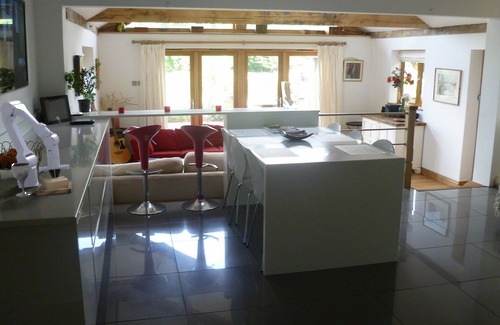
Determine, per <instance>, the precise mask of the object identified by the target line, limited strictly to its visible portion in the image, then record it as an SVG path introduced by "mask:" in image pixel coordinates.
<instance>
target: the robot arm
mask: <svg viewBox="0 0 500 325" xmlns="http://www.w3.org/2000/svg"><path fill="white" fill-rule="evenodd" d="M0 112H1V121H2V124H3V126H4V128H5V130H6V132H7V134H8V137H9V138H10V140H11V143H12V145H13V147H14V149H15V150H16V152H17V153H16V156H15V159H16V162H17V163H29V165H30V173H29V176H28V177H27V179H26V180H25V182H24V189H25V188H33V187H38V185H39V184H40V183H39V180H38V173H40V172H49V174H50V176H51V178H57V177H60V174H61V170H70V164H61V162H60V161H61V160H60V150H59V143H60V137H59V135H58V134H57V133H54V132H53V131H51V130H50V129H49V128H48V127H47V124H45V123H43V122H39V121H38V120H37V119H36V118H35V117H34V116H33V115H32V114H31V112H30V111H29V110H28V108H26V105H25V104H23V103H22V101H20V100H18V99H14V100H11V101H5V102H2V104H1V106H0ZM17 117H21V118H22V119H23V120H25V122H27V123H28V124H29V125H30V126H31V127H32V128H33V129H32V130H33V132H34V133H35V134H36V135H37V136H38V137H39V138H40V139H41V140H42V143H43V146H45V149H46V159H47V165H46V166H38V172H37V165H38V163H39V159H38V157H37V155H36V154H34V152H33V150H31V149H29V147H28V145H27V142H25V139H24V136H23V135H22V133H21V131H20V129H19V126H18V125H17V122H16V119H17ZM16 183H17V185H18V188H19V189H22V185H21V183H20V181H19V180H17V181H16Z"/></svg>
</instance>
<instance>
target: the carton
mask: <svg viewBox="0 0 500 325" xmlns="http://www.w3.org/2000/svg"><path fill="white" fill-rule="evenodd" d="M68 185H69V179H68V178H67V177H65V176H59V177H57V178H56V177H55V178H52V177H51V178H45V179H43V187H44V190H51V189H63V188H68Z"/></svg>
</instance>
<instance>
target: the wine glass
mask: <svg viewBox="0 0 500 325" xmlns="http://www.w3.org/2000/svg"><path fill="white" fill-rule="evenodd" d="M10 166H11V171H12V174H13V175H12V176H13V177H14V178H15V179H16V180H17V181H18V180H19V181H20V183H21V185H22V188H21V189H22V192H19V193H17V194H15V196H16V197H18V198H19V197H21V198H22V197H23V198H24V197H28V196H31V195H32V194H33V193H32V192H31V191H29V192H28V191H25V188H24V182H25V180H26V179H27V177H28V176H29V173H30V165H29V163H13V164H11V165H10Z"/></svg>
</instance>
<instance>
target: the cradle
mask: <svg viewBox="0 0 500 325" xmlns="http://www.w3.org/2000/svg"><path fill="white" fill-rule="evenodd" d="M72 191H73V180H68V188H63V189H51V190H45V189H43V183H39V185H38V186H37V188H36V189H35V195H36V196H47V195H48V196H49V195H57V194H59V193H60V194H70V193H71V194H72Z"/></svg>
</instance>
